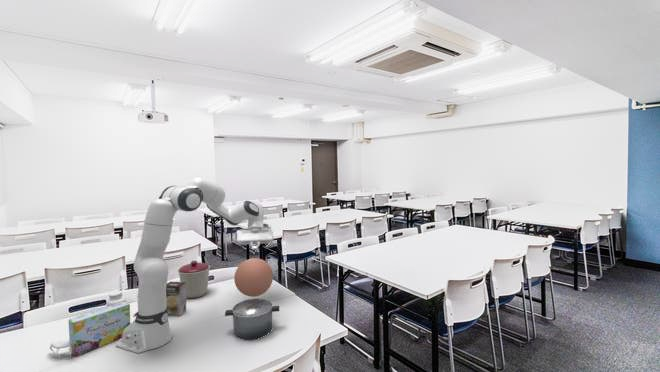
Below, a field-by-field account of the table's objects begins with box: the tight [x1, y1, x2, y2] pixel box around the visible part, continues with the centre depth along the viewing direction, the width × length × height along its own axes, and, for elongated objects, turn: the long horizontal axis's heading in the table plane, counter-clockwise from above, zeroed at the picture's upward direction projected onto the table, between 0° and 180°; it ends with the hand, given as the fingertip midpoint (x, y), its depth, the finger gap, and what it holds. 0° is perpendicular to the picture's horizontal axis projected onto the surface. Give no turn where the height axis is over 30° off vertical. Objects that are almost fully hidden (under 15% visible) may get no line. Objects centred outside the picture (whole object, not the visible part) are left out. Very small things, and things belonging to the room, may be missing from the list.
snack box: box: [68, 301, 131, 358], centre depth 136 cm, size 21×6×15 cm, turn 146°
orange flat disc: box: [233, 257, 274, 298], centre depth 157 cm, size 19×19×3 cm
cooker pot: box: [224, 298, 280, 341], centre depth 147 cm, size 25×19×11 cm
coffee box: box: [166, 281, 187, 317], centre depth 163 cm, size 9×6×16 cm
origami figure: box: [49, 339, 73, 359], centre depth 129 cm, size 12×8×5 cm
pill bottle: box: [106, 290, 127, 307], centre depth 155 cm, size 8×8×15 cm
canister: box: [177, 260, 211, 299], centre depth 187 cm, size 18×18×21 cm
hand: (254, 249), depth 168 cm, fingers closed
